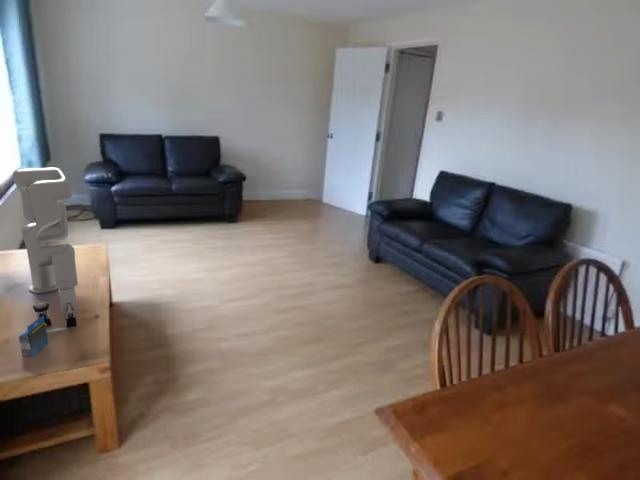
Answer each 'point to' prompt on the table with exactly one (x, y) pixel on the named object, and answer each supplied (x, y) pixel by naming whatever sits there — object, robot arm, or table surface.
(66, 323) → the awl
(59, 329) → the flat metal tool blade
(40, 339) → the label tape cartridge
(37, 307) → the push button
